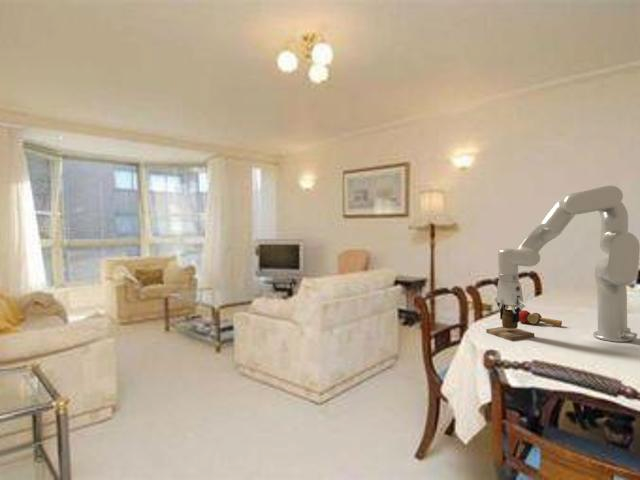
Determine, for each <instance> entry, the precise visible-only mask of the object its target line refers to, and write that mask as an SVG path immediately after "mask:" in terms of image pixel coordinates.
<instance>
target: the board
mask: <svg viewBox="0 0 640 480" xmlns="http://www.w3.org/2000/svg"><path fill="white" fill-rule="evenodd" d="M485 333H487V334H490V335H493V336H495V337H498V338H501V339H504V340H506V341H507V340H508V341H510V342H512V341H519V340H524V339H525V340H526V339H530V338H535V333H534V332H531V331H527V330H524V329H520V328H518V327H517V328H515V329H508V328H504V327H503V326H498V327H493V328H492V327H491V328H486V332H485Z"/></svg>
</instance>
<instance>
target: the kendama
mask: <svg viewBox="0 0 640 480" xmlns="http://www.w3.org/2000/svg"><path fill="white" fill-rule="evenodd" d="M521 322H522V323H521ZM519 323H521V324H529V323H530V324H539V323H544V324H547V325H551V326H555V327H558V328H561V327H562V323H563V321H562V320H557V319H552V318H547V317H542V315H541V313H538V312H532V313H531V312H529V311H528V310H525V309H524V310H523V309H522V310H521V311H520V313H519Z"/></svg>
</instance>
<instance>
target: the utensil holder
mask: <svg viewBox="0 0 640 480" xmlns="http://www.w3.org/2000/svg"><path fill="white" fill-rule="evenodd" d="M501 302H502V300H501ZM502 305H503V303H502ZM503 309H504V306H503ZM512 313H513V310H512V307H511V306H510V309H506V310H505V309H504V310H503V315H502V320H501V327H504V328H508V329H515V328H517V329H518V327H519V325H518V323H519V322H517V323H513V322H512Z"/></svg>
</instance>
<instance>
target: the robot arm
mask: <svg viewBox="0 0 640 480" xmlns="http://www.w3.org/2000/svg"><path fill="white" fill-rule="evenodd" d="M623 198H624V194H623V191H622V190H621V189H620V188H619V187H618V186H616V185H603V186H597V187H595V188H591V189H587V190H582V191H577V192H571V193H567V194H564V195H562V196H561V197H560V198H558V200H557V201H556V202H555V203H554V205H553V206H552V207H551V209H550V210H549V211H548V213H547V214H546V215H545V216H544V217H543V218H542V220H541V221H540V222H539V224H538V225H536V226H535V228H534V229H533V230H532V231H531V232H530V233H529V234H528V235H527V237H526V238H525V239H524V240H523V241H522V243H521V244H520V245H519V247H518V248H517V249H516V248H501V249H499V250H498V252H497V260H498V261H497V262H498V263H497V265H498V267H497V269H498V282H497V288H496V298H495V299H494V301H495V303H496V305H497V307H498V310H499V319H500V320H501V321H502V315H503V310H504V309H505V310H507V306H508V307H510V308H511V307H512V309H511V310H513V313H512V322H513V323H517V322H518V323H520V321H519V313H520V311H522V310H523V309H524V308H525V306H526V305H525V303H524V298H523V297H524V296H523V289H522V284H521V281H519V280H520V277H519V267H529V268H530V267H534V266H537V265H538V264H539V263H540V260H541V255H540V251H541V250H542V248H544V246H545V245H547V244H548V243H549V242H551V241H552V240H554V239H556V238H557V237H559V236H560V235H561V234H562V233H563V231H564V230H565V229H566V227H567V226H568V225H569V224H570V222H571V221H572V220H573V219H574V218H575V217H576V215H577V216H578V215H582V214H587V213H592V212H593V213H594V212H598V213H599V214H600V218H601V226H600V228H601V229H600V238H599V247H600V249H601V251H603V252H604V253H605V254H607V255H608V257H607V258H603V259H601V260H599V261H598V262H597V263H596V265H595V267H594V276H595V283H596V292H597V293H596V294H597V296H596V297H597V298H596V299H597V300H596V301H597V309H596V310H597V330H596V331H593V332H592V333H593V337H594V338H596V339H599V340H603V341H609V342H616V343H617V342H618V343H621V342H622V343H626V342H627V343H628V342H631V341H633V340H636V339H637V337H638V333H637V332H632V331H631V328H630V327H628V291H627V286H629V285H631V284H632V283H634V282H635V280H636V279H637V277H638V273H639V263H640V242H639V239H638V237H637V236H636V235H634V234H633V233H631V232H629V214H628V210H627V208H626V205H624V203H623V202H622V201H623ZM501 300H502V302H501ZM502 303H503V305H502ZM503 306H504V309H503Z"/></svg>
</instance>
